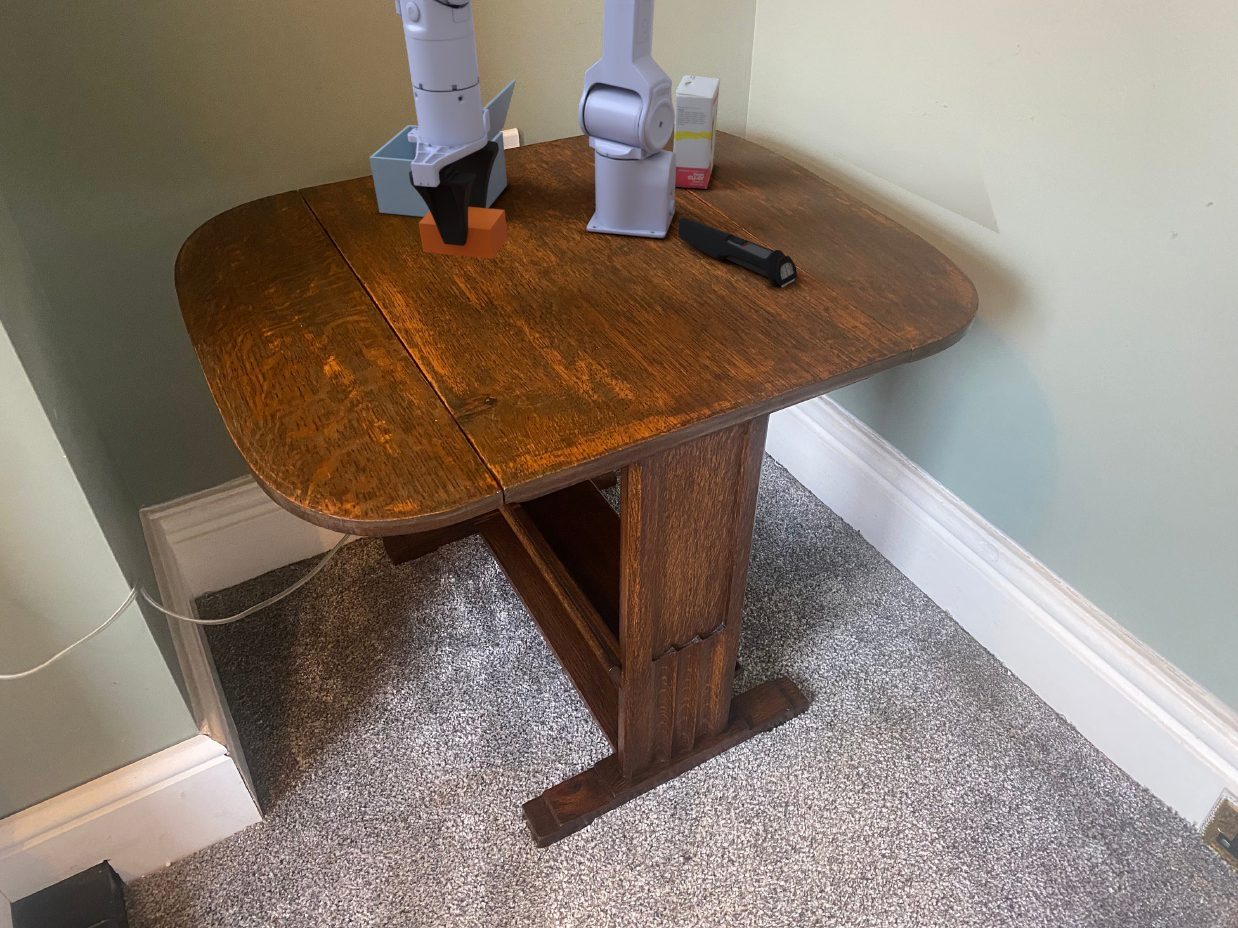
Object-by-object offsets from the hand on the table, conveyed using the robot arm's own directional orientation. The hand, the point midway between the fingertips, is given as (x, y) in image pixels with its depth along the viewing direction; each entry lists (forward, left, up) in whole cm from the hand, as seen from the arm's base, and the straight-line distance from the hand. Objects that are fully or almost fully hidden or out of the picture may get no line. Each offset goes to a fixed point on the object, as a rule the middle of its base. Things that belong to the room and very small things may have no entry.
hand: (464, 231), depth 81 cm
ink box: (-17, -40, -9) cm, 45 cm away
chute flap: (+6, -26, +2) cm, 27 cm away
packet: (0, 0, -1) cm, 1 cm away
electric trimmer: (-25, -16, -9) cm, 31 cm away
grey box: (+13, -26, -9) cm, 31 cm away
